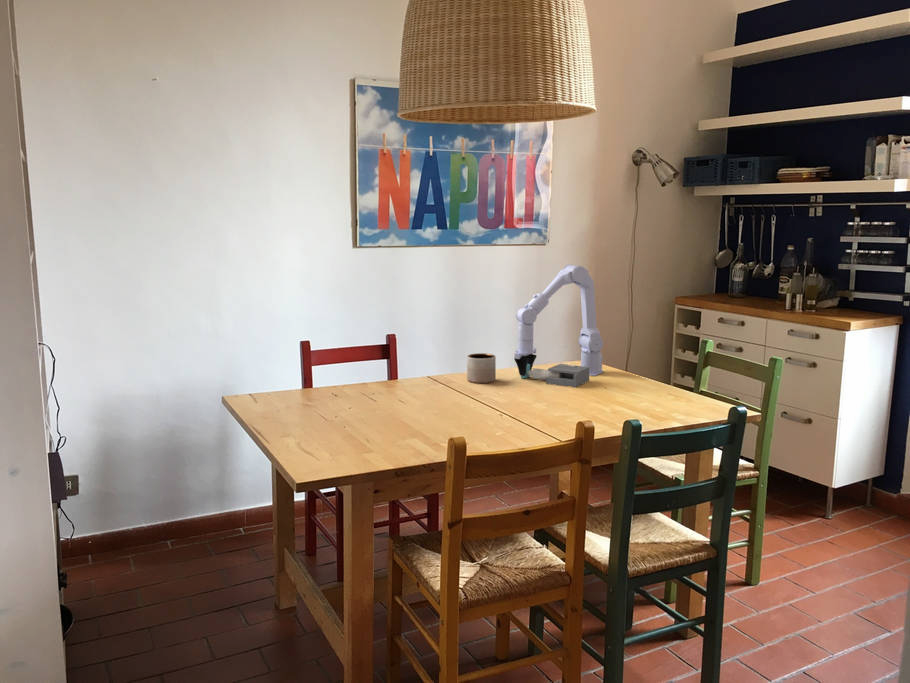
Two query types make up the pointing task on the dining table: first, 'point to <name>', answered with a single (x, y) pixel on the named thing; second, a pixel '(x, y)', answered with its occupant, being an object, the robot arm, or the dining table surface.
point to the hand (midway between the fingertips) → (525, 374)
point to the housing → (569, 375)
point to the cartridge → (540, 373)
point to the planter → (481, 368)
